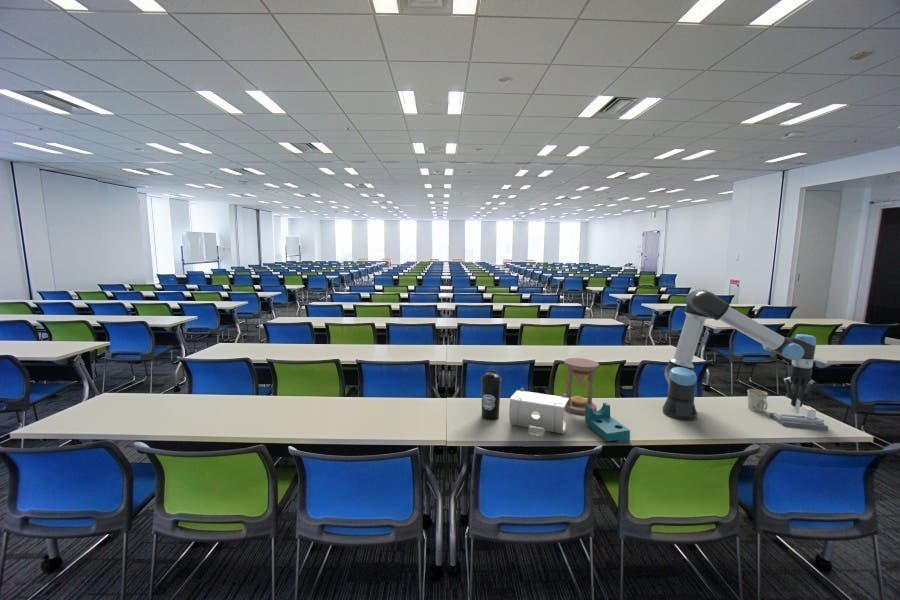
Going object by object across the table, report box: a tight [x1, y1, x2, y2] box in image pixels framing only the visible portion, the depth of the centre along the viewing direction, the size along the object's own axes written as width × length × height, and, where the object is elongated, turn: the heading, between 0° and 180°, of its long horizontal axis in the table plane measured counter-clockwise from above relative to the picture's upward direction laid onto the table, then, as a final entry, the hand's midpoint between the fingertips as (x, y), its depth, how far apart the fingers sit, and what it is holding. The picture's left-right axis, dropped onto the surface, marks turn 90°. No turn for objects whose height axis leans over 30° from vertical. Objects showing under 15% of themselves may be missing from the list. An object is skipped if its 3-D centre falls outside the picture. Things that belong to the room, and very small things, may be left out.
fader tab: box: [800, 404, 817, 419], centre depth 183 cm, size 3×5×6 cm, turn 166°
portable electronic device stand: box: [508, 387, 569, 438], centre depth 176 cm, size 26×24×16 cm
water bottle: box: [480, 369, 503, 421], centre depth 185 cm, size 10×10×23 cm
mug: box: [747, 388, 769, 413], centre depth 198 cm, size 8×13×10 cm, turn 174°
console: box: [769, 411, 829, 431], centre depth 184 cm, size 18×11×4 cm, turn 76°
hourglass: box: [563, 357, 600, 415], centre depth 198 cm, size 18×18×25 cm
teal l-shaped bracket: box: [584, 401, 631, 444], centre depth 170 cm, size 18×11×10 cm, turn 10°
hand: (795, 412), depth 184 cm, fingers closed
